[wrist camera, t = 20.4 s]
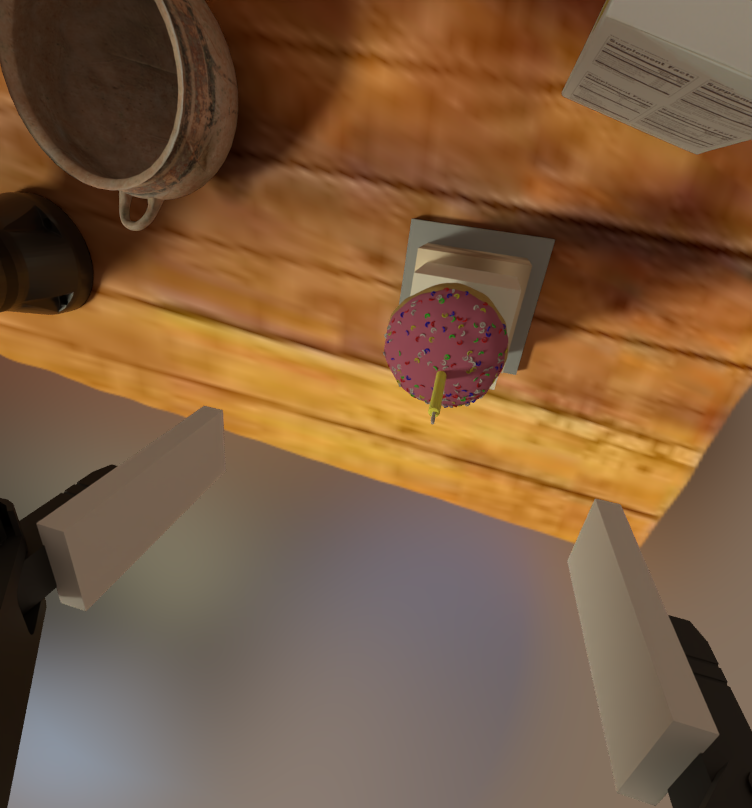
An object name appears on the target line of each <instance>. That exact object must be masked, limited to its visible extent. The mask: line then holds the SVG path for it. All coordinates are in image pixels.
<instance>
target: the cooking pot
mask: <svg viewBox="0 0 752 808" xmlns="http://www.w3.org/2000/svg"><path fill="white" fill-rule="evenodd" d="M0 64H1V68H2V72H3V75H4V78H5V81H6V84H7V87H8V90H9V93H10V96H11V98H12V100H13V102H14V105H15V107H16V109H17V111H18V113H19V115H20V117H21V119H22V120H23V122H24V124H25V126H26V127H27V129H28V131H29V132H30V134H31V135H32V136H33V138H34V139H35V141H36V142H37V143H38V145H39V146H40V147H41V149H42V150H43V151H44V152H45V153H46V154H47V155H48V156H49V157H50V158H51V159H52V160H53V161H54V163H56V164H57V165H58V166H59V167H60V168H62V169H63V170H64V171H65V172H67V173H68V174H69V175H71V176H73V177H74V178H76V179H78V180H79V181H81V182H83V183H85V184H88V185H91V186H93V187H96V188H99V189H106V190H112V191H113V190H118V191H119V213H120V219H121V222H122V224H123V225H124V226H125V227H126V228H128V229H130V230H133V231H140V230H143V229H144V228H146V227H147V226H148V225H149V224H150V223H151V222H152V221H153V220H154V219H155V217H156V215H157V214H158V212H159V210H160V208H161V206H162V204H163V201H164V200H168V199H176V198H179V197H182V196H186V195H189V194H191V193H192V192H194V191H196V190H197V189H199V188H201V187H202V186H204V185H205V184H206V183H207V182H208V181H209V180H210V179H211V178H212V177H213V176H214V175H215V174H216V173H217V172H218V170H219V169H220V167H221V166H222V164H223V163H224V161H225V160H226V157H227V155H228V153H229V151H230V148H231V146H232V143H233V139H234V135H235V132H236V127H237V118H238V87H237V81H236V74H235V69H234V65H233V61H232V58H231V54H230V51H229V47H228V45H227V42H226V40H225V38H224V35H223V33H222V31H221V28H220V26H219V24H218V22H217V20H216V18H215V17H214V15H213V13H212V12H211V10H210V8H209V7H208V5H207V3H206V2H205V0H0ZM133 196H135V197H138V198H144V199H148V208H147V211H146V212H145V214H144V215H143V216H142V218H141V219H140V220H138V221H136V222H133V221H130V204H131V200H132V197H133Z"/></svg>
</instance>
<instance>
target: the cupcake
mask: <svg viewBox="0 0 752 808" xmlns="http://www.w3.org/2000/svg"><path fill="white" fill-rule="evenodd" d="M385 338H386V341H385V349H384V352H383V354H384V355H385V358H386V361H387V363H388V367H390V369H391V371H392V373H393V375H394V377H395V378H396V380H397V382H398V384H399V387H402V388H403V389H404V390H406V391H407V392H408V393H409V394H411V396H413V397H414V398H417V399H419V400H422V401H425V403H426V404H430V406H429V411H428V413H429V415H430V416H432V417H431V424H434V421H435V417H437V416H438V415H439V414H440V408H441V405H442V406H444V408H446V407H448V406H449V407H451V408H453V406H454V407H457V406H462V405H464V404H465V406H469V405H470V402H473V403H474V402H475V401H476V400H477V399H479V398H482V397H483V396H484V395H485V394H486V392H487V391H488V389H489V388H490V387H491V385H492V384H493V383H494V382H495V380H496V378H497V377H498V376H499V374H500V373H501V372H502V370H503V367H504V365H505V363H506V360H507V356H508V335H507V326H506V322H505V320H504V319H503V317H502V316H501V314H500V313H499V311H498V310H497V308H496V307H495V305H494V304H493V302H492V301H491V300H490V299H489V297H487V296H486V295H485V294H483V293H481V292H479V291H477V290H475V289H473V288H471V287H469V286H466V285H464V284H461V283H442V284H438V285H434V286H431V287H429V288H426V289H424V290H422V291H420V292H418V293H416V294H415V295H413V296H410V297H408V298H406V299H405V300H404V301H403V302H402V303H401V304H400V305H399V306H398V307H397V308H396V309H395V310H394V312H393V313H392V315H391V317H390V320H389V325H388V327H387V333H386V334H385ZM468 403H469V404H468ZM466 404H468V405H466Z"/></svg>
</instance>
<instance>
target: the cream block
mask: <svg viewBox="0 0 752 808" xmlns="http://www.w3.org/2000/svg"><path fill="white" fill-rule="evenodd" d="M442 283H461V284H464V285H466V286H469V287H471V288H473V289H475V290H477V291H479V292H481V293H483V294H485V295H486V296H487V297H489V299H490V300H491V301H492V302H493V304H494V305H495V307H496V308H497V310H498V311H499V313H500V314H501V316H502V317H503V319H504V320H505V322H506V326H507V335H508V337H509V334H510V330H511V326H512V323H513V319H514V316H515V312H516V308H517V305H518V301H519V297H520V294H521V288H520V284H519V281H518V277H516V276H510V275H504V274H498V273H492V272H486V271H480V270H473V269H467V268H461V267H455V266H449V265H443V264H437V263H431V262H426V263H425V264H424V265H423V266H421V267H420V268H419V269H418V270H416V271H415V272H414V275H413V281H412V288H411V294H410V296H413V295H415V294H416V293H418V292H420V291H422V290H424V289H426V288H429V287H431V286H434V285H438V284H442ZM497 378H498V377H497ZM497 378H496V380H495V382H494V383H493V384H492V385H491V387H490V388H489V389H492V390H494V389H495V385H496V381H497Z"/></svg>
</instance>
